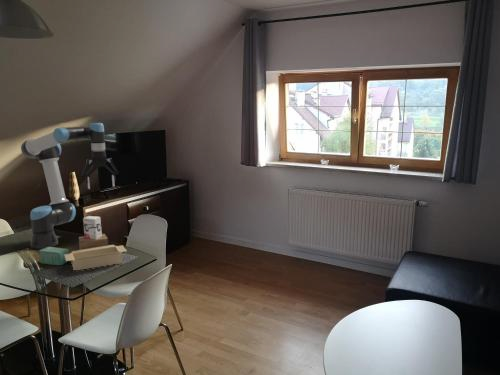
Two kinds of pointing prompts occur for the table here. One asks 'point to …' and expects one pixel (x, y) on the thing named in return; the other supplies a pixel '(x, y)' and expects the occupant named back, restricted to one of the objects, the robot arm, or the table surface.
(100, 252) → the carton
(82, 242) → the stand
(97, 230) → the ink box
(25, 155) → the robot arm
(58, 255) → the box
